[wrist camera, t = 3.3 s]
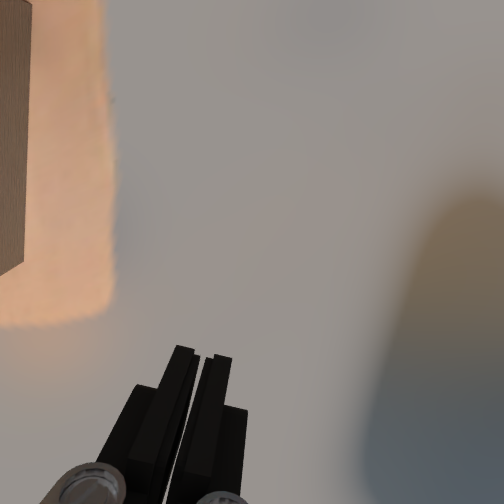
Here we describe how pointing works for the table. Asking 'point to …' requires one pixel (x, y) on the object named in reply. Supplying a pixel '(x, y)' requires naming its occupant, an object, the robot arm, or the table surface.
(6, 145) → the long flat gray bar
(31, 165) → the table surface
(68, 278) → the table surface
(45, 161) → the table surface
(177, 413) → the robot arm
